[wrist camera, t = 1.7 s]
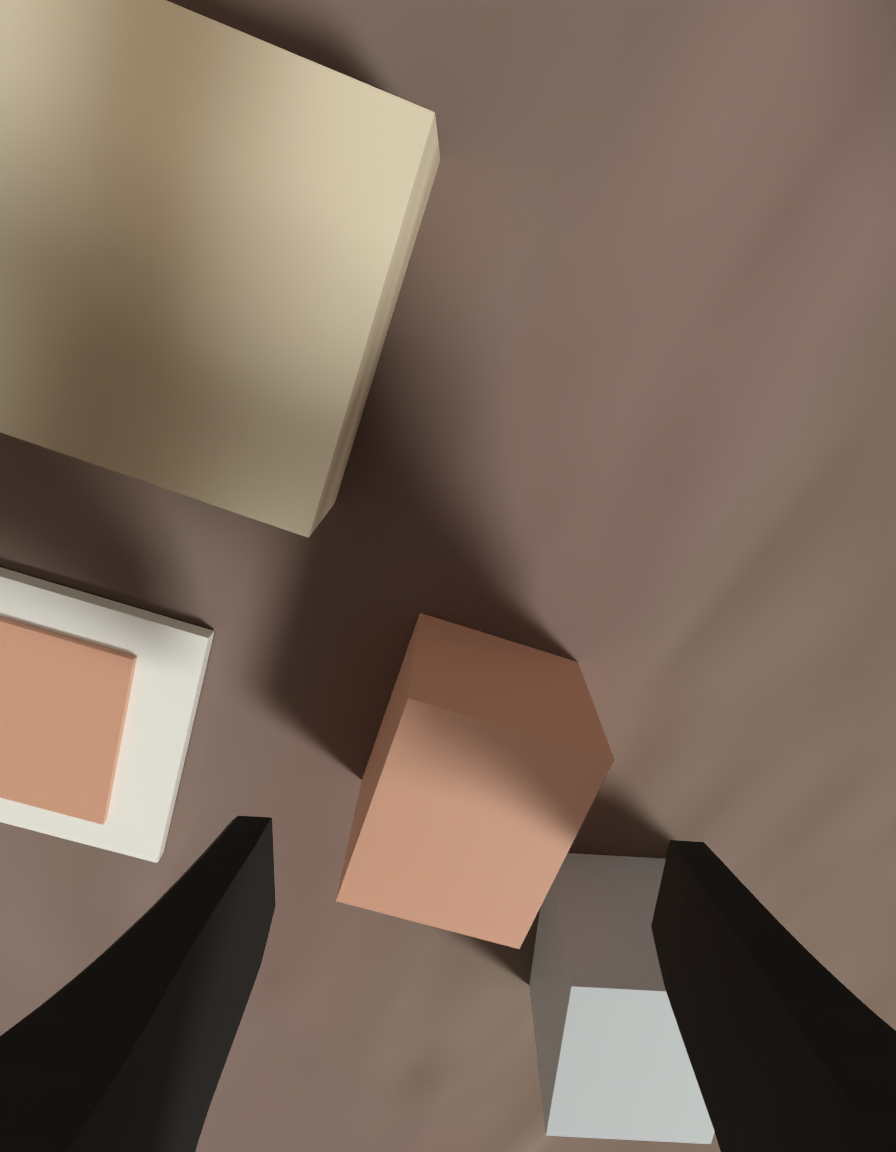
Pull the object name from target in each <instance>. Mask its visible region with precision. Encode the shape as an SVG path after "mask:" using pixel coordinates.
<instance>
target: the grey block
mask: <svg viewBox="0 0 896 1152" xmlns="http://www.w3.org/2000/svg"><path fill="white" fill-rule="evenodd" d="M665 860H666V859H662V858H644V857H627V856H609V855H591V854H574V853H567V855H566V857H565V859H564V861H563V863H562V865H561V867H560V869H559V871H558V873H557V875H556V877H555V879H554V881H553V883H552V885H551V887H550V889H549V891H548V893H547V895H546V897H545V899H544V901H543V903H542V905H541V907H540V912H539V919H538V927H537V934H536V941H535V948H534V955H533V963H532V970H531V977H530V984H529V987H530V996H531V1005H532V1014H533V1023H534V1032H535V1041H536V1050H537V1059H538V1068H539V1077H540V1086H541V1095H542V1104H543V1113H544V1121H545V1130H546V1135H547V1136H566V1137H585V1138H605V1139H624V1140H643V1141H662V1142H681V1143H700V1144H711V1142H712V1138H713V1135H714V1132H715V1131H714V1128H713V1125H712V1123H711V1120H710V1117H709V1114H708V1111H707V1108H706V1105H705V1102H704V1100H703V1097H702V1094H701V1091H700V1088H699V1085H698V1082H697V1080H696V1077H695V1074H694V1071H693V1068H692V1065H691V1062H690V1059H689V1057H688V1054H687V1051H686V1048H685V1045H684V1042H683V1039H682V1037H681V1034H680V1031H679V1028H678V1025H677V1022H676V1019H675V1016H674V1013H673V1010H672V1007H671V1004H670V1001H669V998H668V995H667V992H666V989H665V986H664V982H663V978H662V973H661V969H660V965H659V961H658V956H657V952H656V947H655V942H654V938H653V933H652V928H651V924H652V920H653V915H654V911H655V906H656V901H657V897H658V892H659V888H660V883H661V879H662V874H663V869H664V865H665Z"/></svg>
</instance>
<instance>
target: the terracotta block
mask: <svg viewBox="0 0 896 1152" xmlns="http://www.w3.org/2000/svg"><path fill="white" fill-rule="evenodd" d="M613 761H614V757H613V755H612V752H611V749H610V746H609V744H608V741H607V738H606V736H605V733H604V730H603V728H602V725H601V722H600V720H599V717H598V714H597V712H596V709H595V706H594V704H593V701H592V698H591V696H590V693H589V690H588V688H587V685H586V682H585V680H584V677H583V674H582V672H581V669H580V666H579V664H578V662H577V661H573V660H570V659H567V658H564V657H560V656H557V655H554V654H551V653H548V652H544V651H541V650H538V649H535V648H531V647H528V646H525V645H522V644H519V643H515V642H512V641H509V640H506V639H503V638H499V637H496V636H493V635H490V634H486V633H483V632H480V631H477V630H474V629H470V628H467V627H464V626H461V625H458V624H454V623H451V622H448V621H445V620H441V619H438V618H435V617H432V616H429V615H425V614H422V613H420V614H419V617H418V620H417V622H416V625H415V628H414V631H413V634H412V637H411V640H410V643H409V646H408V648H407V651H406V654H405V657H404V660H403V663H402V666H401V669H400V672H399V674H398V677H397V680H396V683H395V686H394V689H393V692H392V695H391V698H390V700H389V703H388V706H387V709H386V712H385V715H384V718H383V721H382V724H381V726H380V729H379V732H378V735H377V738H376V741H375V744H374V747H373V749H372V752H371V755H370V758H369V761H368V764H367V767H366V770H365V773H364V775H363V778H362V782H361V787H360V791H359V796H358V801H357V805H356V810H355V814H354V819H353V824H352V828H351V833H350V838H349V842H348V847H347V852H346V856H345V861H344V866H343V870H342V875H341V879H340V884H339V889H338V893H337V898H336V901H338V902H341V903H345V904H349V905H353V906H357V907H360V908H364V909H368V910H372V911H376V912H379V913H383V914H387V915H391V916H395V917H398V918H402V919H406V920H410V921H414V922H418V923H421V924H425V925H429V926H433V927H437V928H440V929H444V930H448V931H452V932H456V933H459V934H463V935H467V936H471V937H475V938H479V939H482V940H486V941H490V942H494V943H498V944H501V945H505V946H509V947H513V948H517V949H520V947H521V945H522V943H523V941H524V939H525V937H526V935H527V933H528V931H529V929H530V927H531V925H532V923H533V921H534V919H535V917H536V915H537V913H538V911H539V909H540V907H541V905H542V903H543V901H544V899H545V897H546V895H547V893H548V891H549V889H550V887H551V885H552V883H553V881H554V879H555V877H556V875H557V873H558V871H559V869H560V867H561V865H562V863H563V861H564V859H565V857H566V855H567V853H568V851H569V849H570V847H571V845H572V843H573V841H574V839H575V837H576V835H577V833H578V831H579V829H580V827H581V825H582V823H583V821H584V819H585V817H586V815H587V813H588V811H589V809H590V807H591V805H592V803H593V801H594V799H595V797H596V795H597V793H598V791H599V789H600V787H601V785H602V783H603V781H604V779H605V777H606V775H607V773H608V771H609V769H610V767H611V765H612V763H613Z"/></svg>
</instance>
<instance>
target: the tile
mask: <svg viewBox="0 0 896 1152" xmlns="http://www.w3.org/2000/svg"><path fill="white" fill-rule="evenodd" d="M213 635H214V631H213V630H209V629H206V628H203V627H199V626H196V625H193V624H189V623H186V622H183V621H179V620H176V619H173V618H169V617H166V616H162V615H159V614H156V613H152V612H149V611H146V610H142V609H139V608H136V607H132V606H129V605H126V604H122V603H119V602H116V601H112V600H109V599H105V598H102V597H99V596H95V595H92V594H89V593H85V592H82V591H79V590H75V589H72V588H69V587H65V586H62V585H59V584H55V583H52V582H49V581H45V580H42V579H38V578H35V577H32V576H28V575H25V574H22V573H18V572H15V571H12V570H8V569H5V568H2V567H0V822H3V823H6V824H10V825H14V826H18V827H22V828H25V829H29V830H33V831H37V832H41V833H45V834H48V835H52V836H56V837H60V838H64V839H67V840H71V841H75V842H79V843H83V844H87V845H90V846H94V847H98V848H102V849H106V850H110V851H113V852H117V853H121V854H125V855H129V856H132V857H136V858H140V859H144V860H148V861H152V862H155V863H158V861H159V859H160V857H161V856H162V854H163V852H164V848H165V844H166V839H167V835H168V831H169V826H170V822H171V818H172V813H173V809H174V805H175V800H176V796H177V792H178V787H179V783H180V779H181V774H182V770H183V766H184V761H185V757H186V753H187V748H188V744H189V739H190V735H191V731H192V726H193V722H194V718H195V713H196V709H197V705H198V700H199V696H200V692H201V687H202V683H203V679H204V674H205V670H206V666H207V661H208V657H209V653H210V648H211V644H212V640H213Z"/></svg>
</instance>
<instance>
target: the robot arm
mask: <svg viewBox="0 0 896 1152" xmlns="http://www.w3.org/2000/svg"><path fill="white" fill-rule="evenodd" d="M274 909H275V886H274V860H273V835H272V818H267V817H249V816H237V817H236V818H235V819H234V820H232V821H231V823H230V824H229V825H228V826H227V827H226V828H225V829H224V830H223V832H222V833H221V834H220V835H219V836H218V837H217V838H216V839H215V841H214V842H213V843H212V844H211V845H210V846H209V847H208V848H207V850H206V851H205V852H204V853H203V854H202V855H201V856H200V857H199V858H198V859H197V860H196V862H195V863H194V864H193V865H192V866H191V867H190V868H189V869H188V870H187V871H186V872H185V873H184V875H183V876H182V877H181V878H180V879H179V880H178V881H177V882H176V883H175V884H174V885H173V886H172V887H171V888H170V889H169V890H168V891H167V892H166V893H165V894H164V895H163V896H162V897H161V898H160V899H159V900H158V901H157V902H156V903H155V904H154V905H153V906H152V907H151V908H150V909H149V910H148V911H147V912H146V913H145V914H144V915H143V916H142V917H141V918H140V919H139V920H138V921H137V922H136V923H135V924H134V925H133V926H132V927H130V928H129V929H128V930H127V931H126V932H125V933H124V934H123V935H122V936H121V937H120V938H119V939H118V940H117V941H116V942H115V943H113V944H112V945H111V946H110V947H109V948H108V949H107V950H106V951H105V952H104V953H103V954H102V955H100V956H99V957H98V958H97V959H96V960H95V961H94V962H92V963H91V964H90V965H89V966H88V967H87V968H86V969H84V970H83V971H82V972H81V973H80V974H79V975H77V976H76V977H75V978H74V979H73V980H72V981H70V982H69V983H68V984H67V985H65V986H64V987H63V988H62V989H61V990H59V991H58V992H57V993H56V994H54V995H53V996H52V997H51V998H50V999H48V1000H47V1001H46V1002H45V1003H43V1004H42V1005H41V1006H40V1007H38V1008H37V1009H36V1010H34V1011H33V1012H32V1013H30V1014H29V1015H28V1016H26V1017H25V1018H24V1019H23V1020H21V1021H20V1022H19V1023H17V1024H16V1025H15V1026H13V1027H12V1028H11V1029H9V1030H8V1031H7V1032H5V1033H4V1034H3V1035H1V1036H0V1152H195V1151H196V1147H197V1143H198V1140H199V1137H200V1134H201V1131H202V1128H203V1125H204V1121H205V1118H206V1115H207V1112H208V1109H209V1106H210V1103H211V1101H212V1098H213V1095H214V1092H215V1090H216V1087H217V1084H218V1081H219V1079H220V1076H221V1073H222V1070H223V1068H224V1065H225V1062H226V1059H227V1057H228V1054H229V1051H230V1049H231V1046H232V1043H233V1040H234V1038H235V1035H236V1032H237V1029H238V1027H239V1024H240V1021H241V1018H242V1016H243V1013H244V1010H245V1007H246V1005H247V1002H248V999H249V996H250V993H251V991H252V988H253V985H254V982H255V979H256V977H257V974H258V971H259V968H260V965H261V961H262V958H263V954H264V950H265V946H266V942H267V938H268V934H269V930H270V925H271V921H272V917H273V913H274ZM651 928H652V933H653V938H654V942H655V947H656V952H657V956H658V961H659V965H660V969H661V973H662V978H663V982H664V986H665V989H666V992H667V995H668V998H669V1001H670V1004H671V1007H672V1010H673V1013H674V1016H675V1019H676V1022H677V1025H678V1028H679V1031H680V1034H681V1037H682V1039H683V1042H684V1045H685V1048H686V1051H687V1054H688V1057H689V1059H690V1062H691V1065H692V1068H693V1071H694V1074H695V1077H696V1080H697V1082H698V1085H699V1088H700V1091H701V1094H702V1097H703V1100H704V1102H705V1105H706V1108H707V1111H708V1114H709V1117H710V1120H711V1123H712V1125H713V1128H714V1131H715V1134H716V1137H717V1141H718V1144H719V1147H720V1150H721V1152H896V1031H895V1030H894V1029H893V1028H891V1027H890V1026H889V1025H888V1024H887V1023H885V1022H884V1021H883V1020H882V1019H881V1018H880V1017H878V1016H877V1015H876V1014H875V1013H874V1012H873V1011H872V1010H870V1009H869V1008H868V1007H867V1006H866V1005H865V1004H864V1003H862V1002H861V1001H860V1000H859V999H858V998H857V997H856V996H855V995H854V994H853V993H852V992H850V991H849V990H848V989H847V988H846V987H845V986H844V985H843V984H842V983H841V982H840V981H839V980H838V979H836V978H835V977H834V976H833V975H832V974H831V973H830V972H829V971H828V970H827V969H826V968H825V967H824V966H823V965H821V964H820V963H819V962H818V961H817V960H816V959H815V958H814V957H813V956H812V955H811V954H810V953H809V952H808V951H807V950H806V949H805V948H804V947H803V946H802V945H801V944H800V943H799V942H798V941H797V940H796V939H795V938H794V937H793V936H792V935H791V934H790V933H789V932H788V931H787V930H786V929H785V928H784V927H783V926H782V925H781V924H780V923H779V922H778V921H777V920H776V919H775V918H774V916H773V915H772V914H771V913H770V912H769V911H768V910H767V909H766V908H765V907H764V906H763V905H762V904H761V903H760V902H759V901H758V900H757V899H756V898H755V896H754V895H753V894H752V893H751V892H750V891H749V890H748V889H747V888H746V887H745V886H744V885H743V884H742V883H741V882H740V880H739V879H738V878H737V877H736V876H735V875H734V874H733V873H732V872H731V871H730V870H729V869H728V868H727V866H726V865H725V864H724V863H723V862H722V861H721V860H720V859H719V858H718V857H717V856H716V855H715V854H714V853H713V852H712V851H711V849H710V848H709V847H708V846H707V845H706V844H705V843H704V842H690V841H673V840H670V842H669V847H668V851H667V856H666V860H665V865H664V869H663V874H662V879H661V883H660V888H659V892H658V897H657V901H656V906H655V911H654V915H653V920H652V924H651Z"/></svg>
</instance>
